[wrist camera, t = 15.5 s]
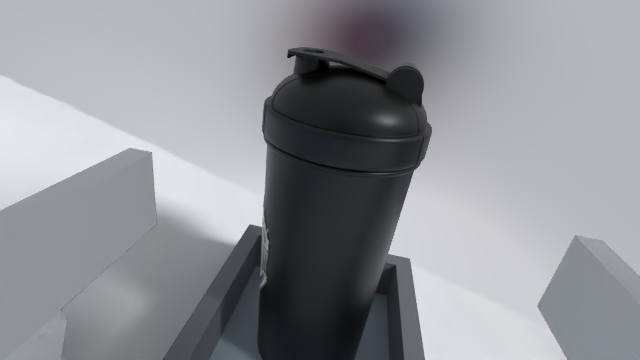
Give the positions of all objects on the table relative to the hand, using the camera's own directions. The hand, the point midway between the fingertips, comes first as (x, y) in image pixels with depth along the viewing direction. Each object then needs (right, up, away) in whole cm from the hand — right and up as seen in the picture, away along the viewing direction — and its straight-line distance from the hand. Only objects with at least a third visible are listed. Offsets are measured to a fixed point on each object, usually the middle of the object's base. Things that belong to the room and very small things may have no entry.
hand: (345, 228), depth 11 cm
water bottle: (-2, -12, +19) cm, 22 cm away
